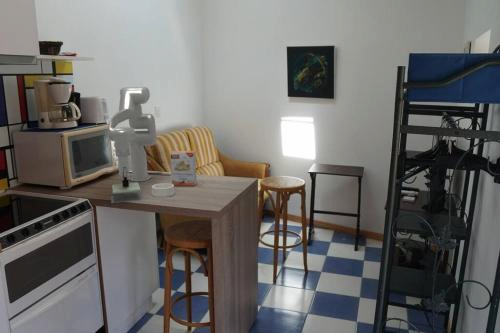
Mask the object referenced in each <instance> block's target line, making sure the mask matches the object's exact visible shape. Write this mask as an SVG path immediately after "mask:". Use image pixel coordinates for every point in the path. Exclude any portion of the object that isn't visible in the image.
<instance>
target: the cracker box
mask: <svg viewBox="0 0 500 333" xmlns="http://www.w3.org/2000/svg"><path fill="white" fill-rule="evenodd" d="M170 165H171V166H170V167H171V171H170V172H171V184H173V185H174V187H195V186H196V185H197V162H196V151H195V150H192V151H191V150H190V151H189V150H186V151H185V150H172V151H171V152H170Z"/></svg>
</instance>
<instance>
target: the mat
mask: <svg viewBox="0 0 500 333" xmlns="http://www.w3.org/2000/svg"><path fill="white" fill-rule="evenodd" d="M110 200H111V201H110V202H111V204H115V203H125V202H133V201H143V197H142V193H141V192H139V193H138V192H136V193H127V194H119V195H110Z"/></svg>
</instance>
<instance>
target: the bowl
mask: <svg viewBox="0 0 500 333" xmlns="http://www.w3.org/2000/svg"><path fill="white" fill-rule="evenodd" d="M151 195H152V196H153V197H155V198H164V197H165V198H166V197H172V196H174V195H175V186H174V185H173V184H172V183H167V182H165V183H164V182H163V183H155V184H153V185H151Z"/></svg>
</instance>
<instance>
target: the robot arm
mask: <svg viewBox="0 0 500 333" xmlns="http://www.w3.org/2000/svg"><path fill="white" fill-rule="evenodd" d="M150 96H151V94H150V89H149V88H148V87H146V86H129V87H128V86H127V87H123V88H120V91H119V97H120V99H119V106H118V111H117V112H116V113H115V114H114V115H113V116H112V117H111V119H110V120H109V122H108V126H107V127H108V128H107V138H108V140H110V141H111V142H114V152H115V157H117V164H118V174H119V176H121V178H122V177H123V180H122V179H121V180H122V181H121V184H123V187H129V183H130V181H131V182H145V181H149V180H151V176H149V173H148V162H147V151H146V150H145V148H144V147H146V146H149V147H150V146H155V145H156V143H157V130H156V129H157V128H156V126H157V125H156V119H155V116H154V115H153V114H152V113H143V108H142V105H144V104H146V103H147V102H148V101H149V100H150ZM127 120H128V125H129V126H128V127H127V126H126V127H125V126H122V127H117V126H118V125H119V124H121V123H122V122H124V121H127ZM143 146H144V147H143ZM129 156H130V159H131V173H132V174H131V175H132V176H131V177H130V178H129V174H130V168H129V167H130V164H129ZM129 179H130V181H129ZM122 182H123V183H122Z"/></svg>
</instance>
